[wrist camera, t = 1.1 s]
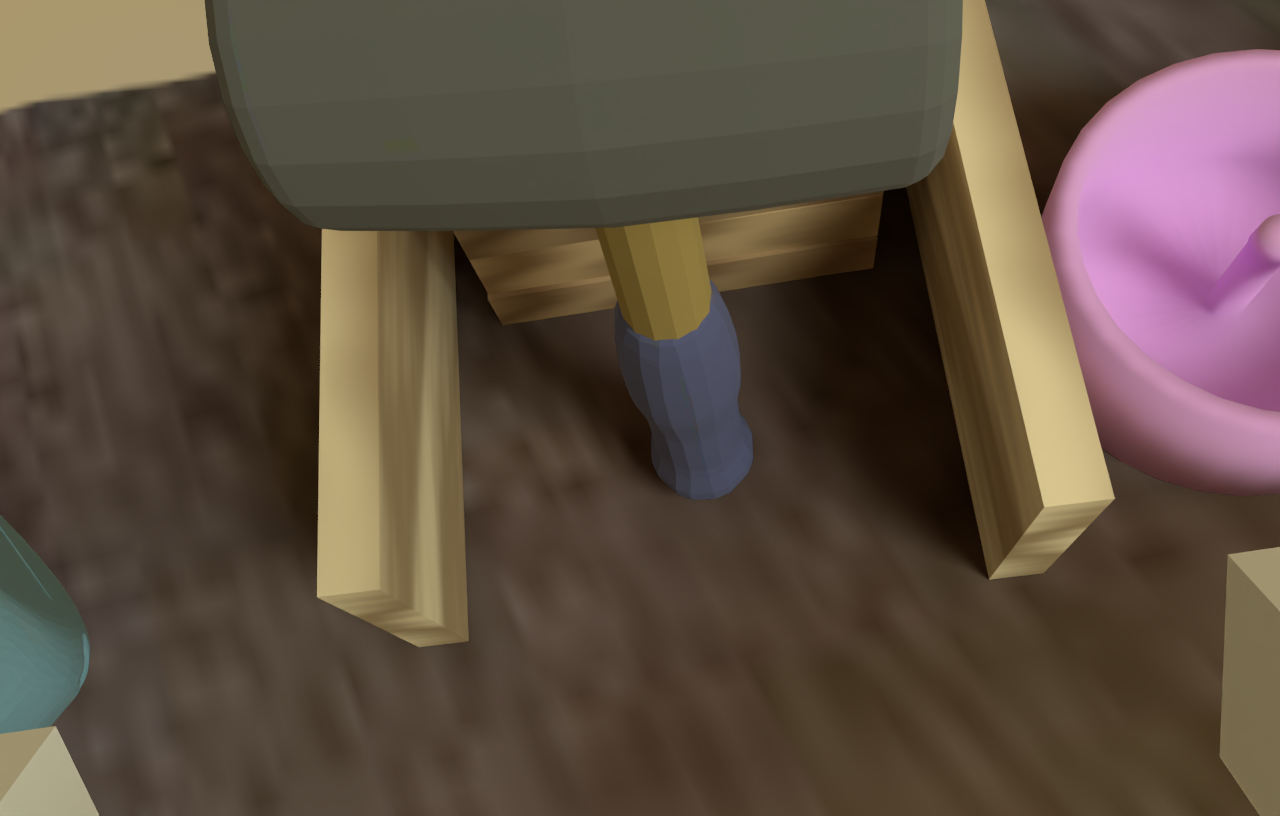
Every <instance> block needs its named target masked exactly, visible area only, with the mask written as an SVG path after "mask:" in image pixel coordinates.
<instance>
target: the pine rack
mask: <svg viewBox="0 0 1280 816" xmlns="http://www.w3.org/2000/svg"><path fill="white" fill-rule="evenodd" d="M906 190H907V195H908V200H909V204H910V209H911V214H912V218H913V223H914V228H915V233H916V237H917V242H918V247H919V251H920V256H921V261H922V266H923V270H924V275H925V280H926V285H927V289H928V294H929V299H930V303H931V308H932V313H933V318H934V322H935V327H936V332H937V336H938V341H939V346H940V351H941V355H942V360H943V365H944V370H945V374H946V379H947V384H948V388H949V393H950V398H951V403H952V407H953V412H954V417H955V421H956V426H957V431H958V436H959V440H960V445H961V450H962V455H963V459H964V464H965V469H966V473H967V478H968V483H969V488H970V492H971V497H972V502H973V506H974V511H975V516H976V521H977V525H978V530H979V535H980V540H981V544H982V549H983V554H984V558H985V563H986V568H987V573H988V577H989V579H998V578H1006V577H1015V576H1023V575H1031V574H1040V573H1044V572H1045V571H1046V570H1047V569H1048V568H1049V567H1050V566H1051V565H1052V564H1053V563H1054V562H1055V560H1056V559H1057V558H1058V557H1059V556H1060V555H1061V554H1062V553H1063V552H1064V551H1065V550H1066V549H1067V548H1068V547H1069V546H1070V545H1071V544H1072V543H1073V542H1074V541H1075V540H1076V538H1077V537H1078V536H1079V535H1080V534H1081V533H1082V532H1083V531H1084V530H1085V529H1086V528H1087V527H1088V526H1089V525H1090V524H1091V523H1092V522H1093V521H1094V520H1095V519H1096V518H1097V517H1098V515H1099V514H1100V513H1101V512H1102V511H1103V510H1104V509H1105V508H1106V507H1107V506H1108V505H1109V504H1110V503H1111V502H1112V501H1113V500H1114V499H1115V498H1114V494H1113V490H1112V486H1111V483H1110V479H1109V475H1108V471H1107V467H1106V463H1105V460H1104V456H1103V452H1102V448H1101V444H1100V440H1099V437H1098V433H1097V429H1096V425H1095V421H1094V417H1093V414H1092V410H1091V406H1090V402H1089V398H1088V394H1087V391H1086V387H1085V383H1084V379H1083V375H1082V371H1081V368H1080V364H1079V360H1078V356H1077V352H1076V348H1075V345H1074V341H1073V337H1072V333H1071V329H1070V325H1069V322H1068V318H1067V314H1066V310H1065V306H1064V302H1063V299H1062V295H1061V291H1060V287H1059V283H1058V279H1057V276H1056V272H1055V268H1054V264H1053V260H1052V256H1051V253H1050V249H1049V245H1048V241H1047V237H1046V233H1045V230H1044V226H1043V222H1042V218H1041V214H1040V210H1039V207H1038V203H1037V199H1036V195H1035V191H1034V187H1033V184H1032V180H1031V176H1030V172H1029V168H1028V165H1027V161H1026V157H1025V153H1024V149H1023V145H1022V142H1021V138H1020V134H1019V130H1018V126H1017V122H1016V119H1015V115H1014V111H1013V107H1012V103H1011V99H1010V96H1009V92H1008V88H1007V84H1006V80H1005V76H1004V73H1003V69H1002V65H1001V61H1000V57H999V53H998V50H997V46H996V42H995V38H994V34H993V30H992V27H991V23H990V19H989V15H988V11H987V7H986V4H985V0H963V21H962V45H961V58H960V71H959V85H958V94H957V101H956V107H955V114H954V120H953V126H952V133H951V136H950V139H949V142H948V145H947V148H946V151H945V154H944V157H943V158H942V159H941V160H940V161H939V163H938V164H937V165H936V166H935V167H934V169H933V170H932V171H931V172H930V173H929V175H928V176H926V177H925V178H923V179H922V180H920V181H918V182H916V183H914V184H911V185H909V186H907V187H906ZM317 597H318V598H320V599H322V600H324V601H326V602H328V603H330V604H332V605H334V606H336V607H338V608H340V609H342V610H344V611H346V612H348V613H350V614H352V615H354V616H356V617H358V618H360V619H362V620H365V621H367V622H369V623H371V624H373V625H375V626H377V627H379V628H381V629H383V630H385V631H387V632H389V633H391V634H393V635H395V636H397V637H399V638H401V639H403V640H405V641H407V642H409V643H412V644H414V645H416V646H418V647H424V646H433V645H441V644H450V643H458V642H467V641H469V636H468V609H467V581H466V554H465V526H464V499H463V472H462V444H461V417H460V389H459V362H458V335H457V307H456V280H455V252H454V232H453V231H337V230H329V229H322V262H321V336H320V409H319V483H318V557H317Z"/></svg>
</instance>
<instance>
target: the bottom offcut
mask: <svg viewBox="0 0 1280 816" xmlns="http://www.w3.org/2000/svg"><path fill="white" fill-rule="evenodd" d="M876 245H877V236H870V237H863V238H857V239H850V240H844V241H837V242H830V243H824V244H817V245H810V246H804V247H797V248H791V249H784V250H777V251H771V252H764V253H758V254H751V255H744V256H738V257H731V258H724V259H718V260H711V261H706V264H707V269H708V275H709V279H710V280H711V281H712V282H713V283H714V284H715V285H716V287H717V289H718V291H719V292H721V291H728V290H734V289H741V288H747V287H754V286H760V285H767V284H773V283H780V282H786V281H793V280H799V279H805V278H812V277H818V276H825V275H831V274H838V273H844V272H851V271H857V270H864V269H870V268H873V267H874V260H875V252H876ZM487 293H488V292H487ZM488 301H489V302H490V304H491V306H492V308H493V309H494V311H495V313H496V315H497V316H498V318H499V320H500V322H501V323H502V325H508V324H514V323H521V322H527V321H534V320H540V319H547V318H553V317H560V316H566V315H573V314H579V313H585V312H592V311H598V310H605V309H611V308H615V306H616V303H617V297H616V293H615V290H614V287H613V284H612V281H611V277H610V276H605V277H599V278H592V279H585V280H579V281H572V282H566V283H559V284H552V285H546V286H539V287H533V288H526V289H519V290H513V291H506V292H499V293H493V294H488Z"/></svg>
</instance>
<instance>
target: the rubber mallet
mask: <svg viewBox="0 0 1280 816" xmlns="http://www.w3.org/2000/svg"><path fill="white" fill-rule="evenodd" d="M205 8H206V18H207V28H208V37H209V45H210V49H211V53H212V57H213V62H214V66H215V70H216V74H217V78H218V82H219V86H220V90H221V95H222V99H223V103H224V105H225V108H226V110H227V113H228V115H229V118H230V120H231V123H232V125H233V128H234V130H235V133H236V135H237V138H238V140H239V143H240V145H241V148H242V150H243V153H244V154H245V156H246V158H247V159H248V161H249V162H250V164H251V165H252V167H253V169H254V170H255V172H256V173H257V175H258V177H259V178H260V180H261V181H262V183H263V184H264V186H265V188H266V189H267V190H268V191H269V192H270V193H271V194H272V195H273V196H274V197H275V198H276V199H277V200H278V201H279V203H281V204H282V205H283V206H284V207H285V208H286V209H288V210H289V211H290V212H291V213H292V214H293V215H294V216H296V217H297V218H298V219H299V220H300V221H301V222H303V223H304V224H306V225H310V226H313V227H317V228H322V229H329V230H337V231H491V230H532V229H574V228H595V229H596V232H597V236H598V239H599V242H600V245H601V248H602V252H603V255H604V258H605V261H606V265H607V268H608V271H609V274H610V277H611V281H612V284H613V287H614V290H615V293H616V297H617V303H616V306H615V342H616V348H617V355H618V362H619V366H620V370H621V373H622V376H623V379H624V382H625V385H626V387H627V389H628V392H629V394H630V396H631V399H632V400H633V402H634V404H635V405H636V407H637V408H638V409H639V410H640V411H641V413H642V414H643V415H644V416H645V418H646V419H647V420H648V423H649V426H650V429H651V432H652V436H651V459H652V463H653V466H654V468H655V470H656V473H657V475H658V477H659V478H660V479H661V480H662V481H663V482H664V483H666V484H667V485H668V486H669V487H670V488H671V489H672V490H673V491H674V492H676V493H677V494H678V495H680V496H683V497H686V498H689V499H692V500H703V499H717V498H719V497H721V496H723V495H725V494H728V493H730V492H731V491H732V490H733V489H734V488H735V487H736V486H737V485H738V484H739V483H740V482H741V481H742V479H743V478H744V477H745V476H746V475H747V474H748V472H749V469H750V467H751V464H752V462H753V442H752V433H751V430H750V428H749V426H748V424H747V422H746V420H745V418H744V417H742V416H741V415H740V413H739V406H738V400H737V398H738V394H739V389H740V384H741V370H740V351H739V345H738V340H737V335H736V331H735V328H734V325H733V323H732V320H731V317H730V314H729V311H728V309H727V307H726V305H725V303H724V301H723V299H722V297H721V295H720V293H719V291H718V289H717V287H716V285H715V284H714V283H713V282H712V281H711V280H710V279H709V275H708V269H707V264H706V258H705V253H704V247H703V242H702V236H701V231H700V225H699V220H698V217H704V216H712V215H720V214H728V213H736V212H744V211H752V210H760V209H766V208H773V207H779V206H786V205H793V204H799V203H806V202H812V201H819V200H826V199H832V198H839V197H845V196H852V195H859V194H865V193H872V192H878V191H885V190H892V189H898V188H904V187H907V186H909V185H911V184H914V183H916V182H918V181H920V180H922V179H923V178H925V177H926V176H928V175H929V173H930V172H931V171H932V170H933V169H934V167H935V166H936V165H937V164H938V163H939V161H940V160H941V159H942V158H943V157H944V154H945V151H946V148H947V145H948V142H949V139H950V136H951V133H952V126H953V120H954V114H955V107H956V101H957V94H958V85H959V71H960V58H961V45H962V21H963V0H205Z"/></svg>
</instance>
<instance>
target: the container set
mask: <svg viewBox="0 0 1280 816" xmlns="http://www.w3.org/2000/svg"><path fill="white" fill-rule="evenodd" d="M1041 218H1042V222H1043V226H1044V230H1045V233H1046V237H1047V241H1048V245H1049V249H1050V253H1051V256H1052V260H1053V264H1054V268H1055V272H1056V276H1057V279H1058V283H1059V287H1060V291H1061V295H1062V299H1063V302H1064V306H1065V310H1066V314H1067V318H1068V322H1069V325H1070V329H1071V333H1072V337H1073V341H1074V345H1075V348H1076V352H1077V356H1078V360H1079V364H1080V368H1081V371H1082V375H1083V379H1084V383H1085V387H1086V391H1087V394H1088V398H1089V402H1090V406H1091V410H1092V414H1093V417H1094V421H1095V425H1096V429H1097V433H1098V437H1099V440H1100V444H1101V448H1102V449H1104V450H1105V451H1107V452H1108V453H1109V454H1111V455H1112V456H1113V457H1115V458H1116V459H1118V460H1120V461H1122V462H1124V463H1126V464H1128V465H1130V466H1132V467H1134V468H1136V469H1138V470H1140V471H1142V472H1144V473H1146V474H1148V475H1150V476H1152V477H1154V478H1156V479H1159V480H1163V481H1166V482H1169V483H1173V484H1176V485H1179V486H1183V487H1186V488H1189V489H1193V490H1196V491H1203V492H1211V493H1219V494H1227V495H1235V496H1249V495H1268V494H1280V50H1263V49H1253V50H1243V51H1233V52H1222V53H1213V54H1210V55H1206V56H1202V57H1198V58H1194V59H1190V60H1187V61H1183V62H1179V63H1175V64H1173V65H1170V66H1168V67H1166V68H1164V69H1162V70H1159V71H1157V72H1155V73H1153V74H1151V75H1149V76H1146V77H1144V78H1142V79H1140V80H1138V81H1136V82H1135V83H1133V84H1132V85H1131V86H1129V87H1128V88H1126V89H1125V90H1124V91H1122V92H1121V93H1119V94H1118V95H1117V96H1115V97H1114V98H1112V99H1111V100H1109V101H1108V102H1107V103H1106V104H1105V105H1104V106H1103V107H1102V108H1101V109H1100V110H1099V111H1098V112H1097V113H1096V115H1095V116H1094V117H1093V118H1092V119H1091V120H1090V121H1089V122H1088V123H1087V124H1086V125H1085V126H1084V127H1083V128H1082V130H1081V131H1080V133H1079V135H1078V137H1077V138H1076V140H1075V142H1074V143H1073V145H1072V147H1071V149H1070V150H1069V152H1068V154H1067V155H1066V157H1065V159H1064V161H1063V163H1062V166H1061V168H1060V171H1059V173H1058V176H1057V178H1056V181H1055V183H1054V186H1053V188H1052V191H1051V193H1050V196H1049V198H1048V201H1047V203H1046V206H1045V208H1044V211H1043V213H1042V216H1041Z"/></svg>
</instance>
